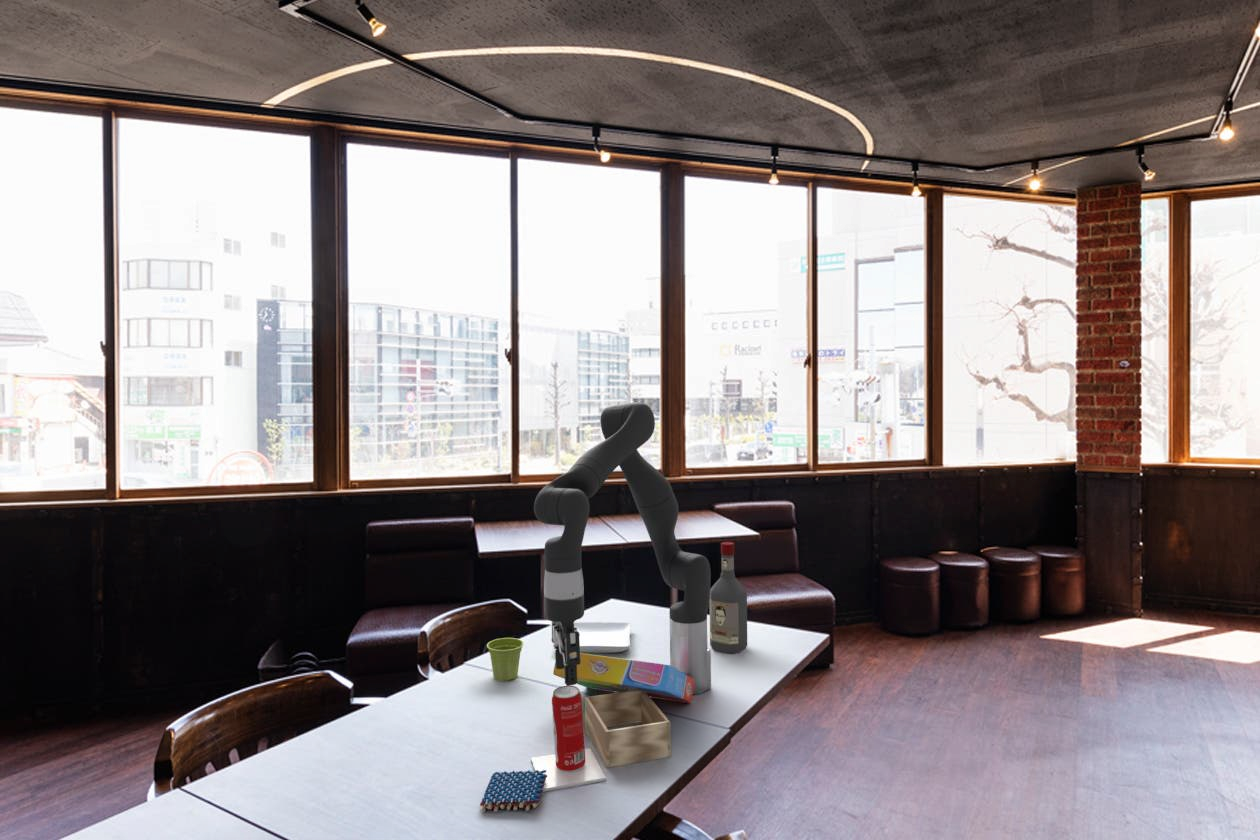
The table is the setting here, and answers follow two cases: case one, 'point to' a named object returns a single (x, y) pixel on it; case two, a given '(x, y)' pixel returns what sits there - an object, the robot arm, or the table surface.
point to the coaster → (568, 779)
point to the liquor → (728, 608)
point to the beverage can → (568, 728)
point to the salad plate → (603, 636)
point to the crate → (627, 728)
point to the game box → (632, 677)
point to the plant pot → (505, 657)
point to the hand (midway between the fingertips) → (566, 676)
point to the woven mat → (514, 790)
